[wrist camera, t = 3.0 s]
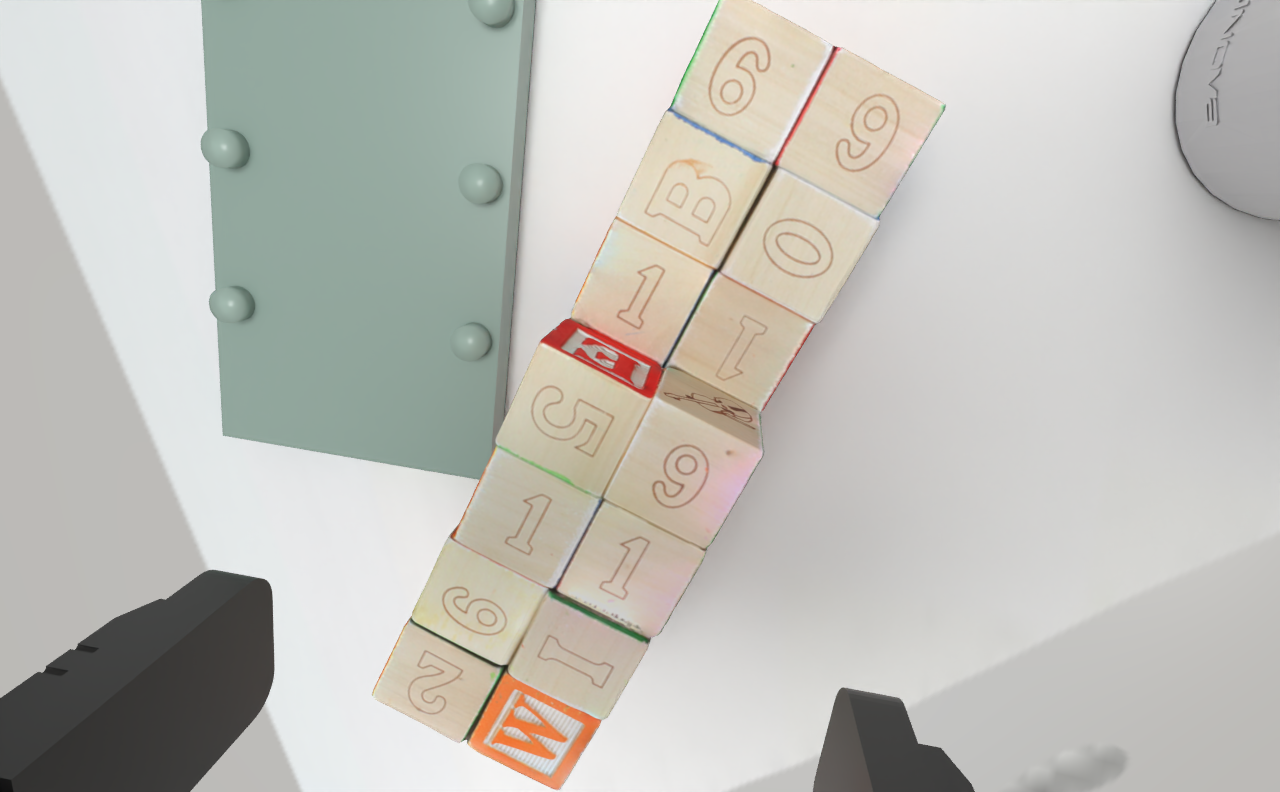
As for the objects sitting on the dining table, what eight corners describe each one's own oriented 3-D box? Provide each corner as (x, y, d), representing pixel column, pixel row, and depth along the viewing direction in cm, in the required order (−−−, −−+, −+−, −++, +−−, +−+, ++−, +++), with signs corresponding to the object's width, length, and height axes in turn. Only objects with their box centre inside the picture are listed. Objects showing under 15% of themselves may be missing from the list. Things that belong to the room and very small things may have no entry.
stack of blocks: (728, 53, 25) (729, -69, 14) (878, 135, 26) (1008, 86, 14) (496, 515, 32) (362, 704, 20) (618, 578, 32) (555, 802, 20)
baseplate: (548, -175, 24) (531, -212, 22) (500, 467, 31) (482, 488, 29) (220, -206, 25) (171, -246, 23) (245, 424, 32) (209, 441, 30)
